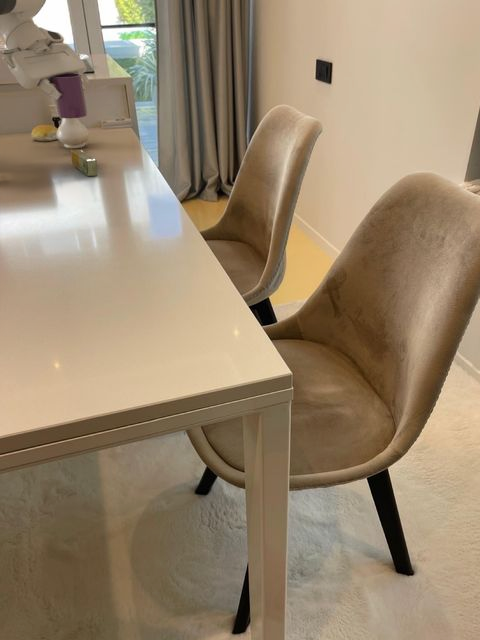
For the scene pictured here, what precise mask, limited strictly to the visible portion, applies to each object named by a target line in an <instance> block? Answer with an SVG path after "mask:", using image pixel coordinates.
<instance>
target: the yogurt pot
mask: <svg viewBox="0 0 480 640" xmlns="http://www.w3.org/2000/svg"><path fill="white" fill-rule="evenodd" d="M51 78H52V83H53V87H55V88H56V89H57V88H59V90H60V91H61V92H62V93H63V96H62V98H61V99H57V100H56V99H55V102H56V109H57V114H58V117H59V118H78V119H79V118H84V117H86V116H88V111H87V103H86V99H85V93H84V92H85V91H84V92H83V86H84V85H83V82H82V80H81V74H78V73H67V74H63V75H58V76H52V77H51ZM82 85H83V86H82Z"/></svg>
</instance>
